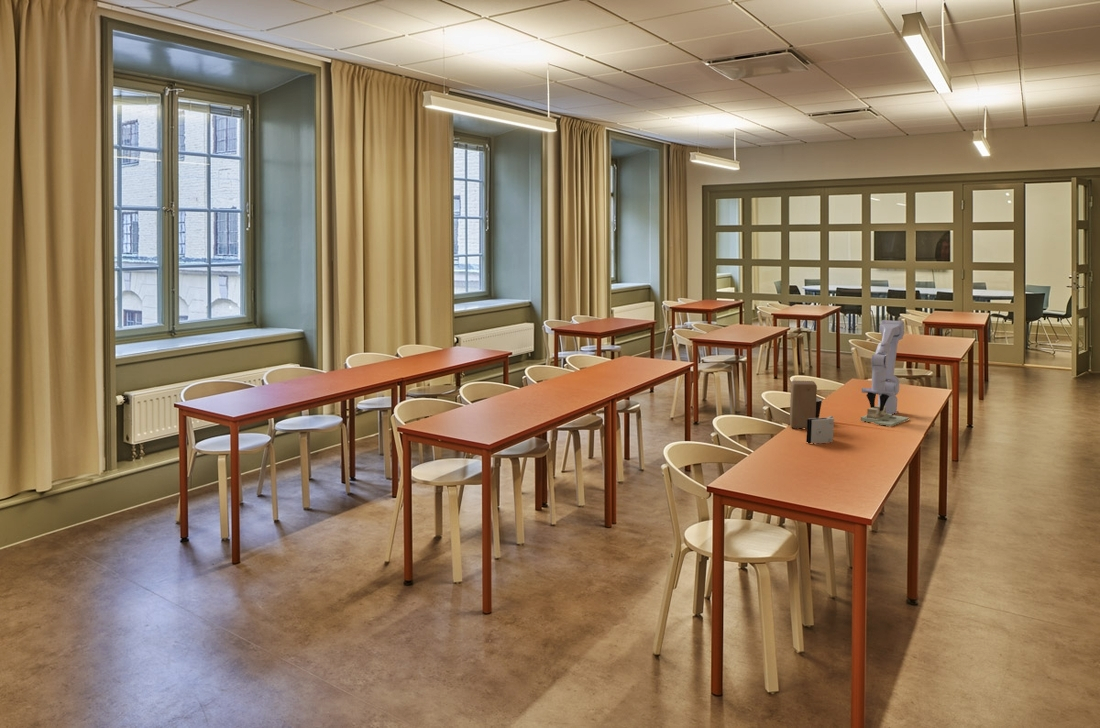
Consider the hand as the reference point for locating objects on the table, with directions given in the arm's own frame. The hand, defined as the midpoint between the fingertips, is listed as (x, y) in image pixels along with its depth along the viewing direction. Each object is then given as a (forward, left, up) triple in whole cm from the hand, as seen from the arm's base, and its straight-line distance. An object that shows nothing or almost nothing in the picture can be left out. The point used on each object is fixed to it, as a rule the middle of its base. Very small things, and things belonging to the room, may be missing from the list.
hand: (876, 409), depth 373 cm
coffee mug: (+22, -21, -5) cm, 31 cm away
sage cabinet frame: (0, +4, -5) cm, 6 cm away
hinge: (+57, +2, -5) cm, 57 cm away
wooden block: (+37, -17, -5) cm, 41 cm away
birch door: (0, 0, -5) cm, 5 cm away
